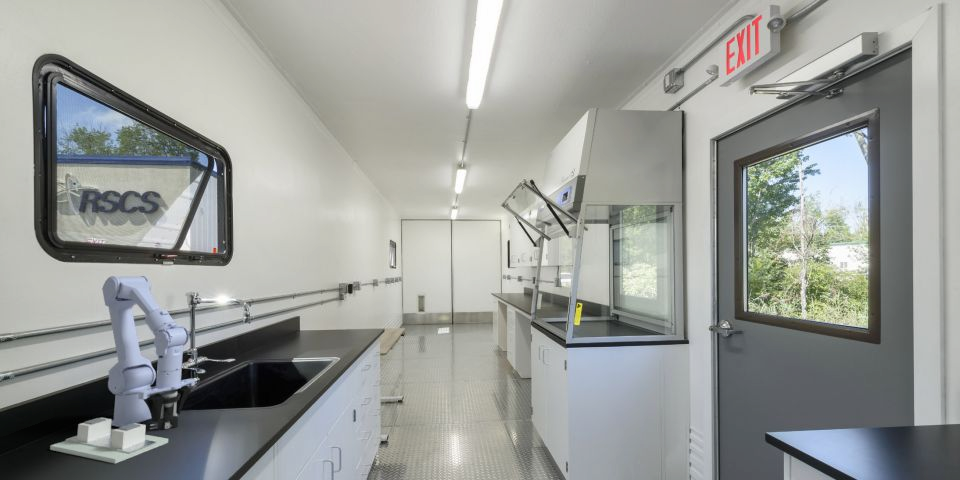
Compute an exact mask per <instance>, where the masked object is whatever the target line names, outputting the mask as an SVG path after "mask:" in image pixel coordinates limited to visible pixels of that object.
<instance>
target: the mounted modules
mask: <svg viewBox="0 0 960 480" xmlns="http://www.w3.org/2000/svg"><path fill="white" fill-rule="evenodd" d="M111 421H112V418H106V417H96V418H93V419H88V420H85V421H84V422H82V423H81V422H80V423H79V424H77V425H78V426H77V435H76V436H77V440H79V441H84V442H89V441H92V440H95V439H98V438H101V437H104V436H107V435H110V432H111V429H112V425H111ZM146 427H147V426H146V424H144V423H143V424H141V423H134V424H129V425H126V426H123V427H118V428H114V429H115V430H113V432H112V445H111V447H114V448H119V449H124V448H127V447H129V446H132V445H135V444H138V443H140V442H143V441H145V435H146Z"/></svg>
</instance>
